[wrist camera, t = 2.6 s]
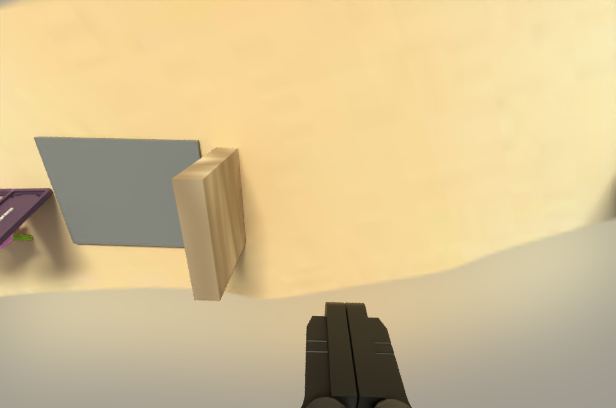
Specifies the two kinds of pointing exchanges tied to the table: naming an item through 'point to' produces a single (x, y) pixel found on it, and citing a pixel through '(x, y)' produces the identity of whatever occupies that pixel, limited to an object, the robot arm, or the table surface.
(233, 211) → the tile
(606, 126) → the table surface
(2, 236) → the purple toy case
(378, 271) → the table surface
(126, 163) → the felt mat
